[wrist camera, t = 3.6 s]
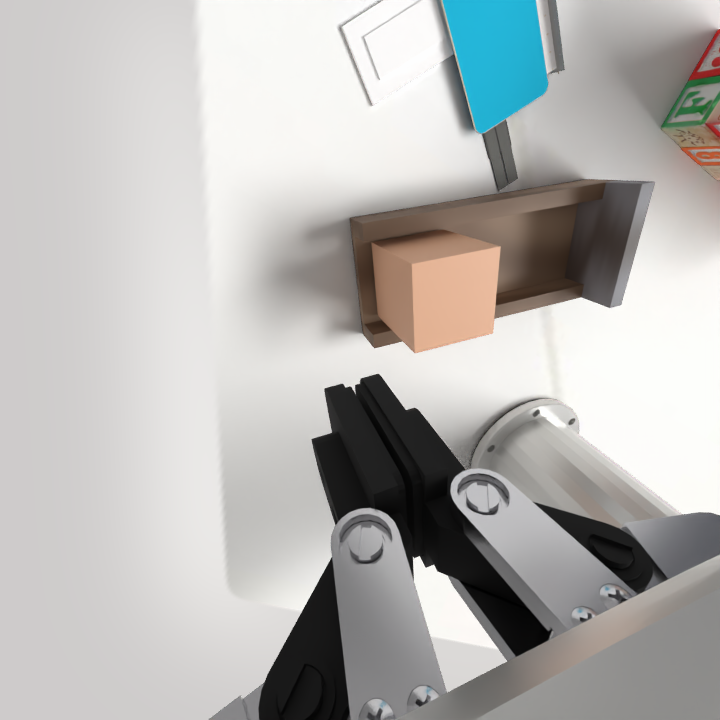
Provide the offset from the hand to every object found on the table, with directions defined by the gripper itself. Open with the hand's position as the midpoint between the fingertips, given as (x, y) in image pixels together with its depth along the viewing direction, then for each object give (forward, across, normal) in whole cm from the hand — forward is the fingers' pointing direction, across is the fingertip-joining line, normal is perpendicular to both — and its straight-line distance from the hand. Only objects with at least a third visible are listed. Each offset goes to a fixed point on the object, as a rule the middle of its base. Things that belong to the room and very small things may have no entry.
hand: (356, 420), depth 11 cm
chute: (+14, -14, +1) cm, 20 cm away
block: (+14, -8, +1) cm, 16 cm away
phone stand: (+15, -12, -13) cm, 23 cm away
